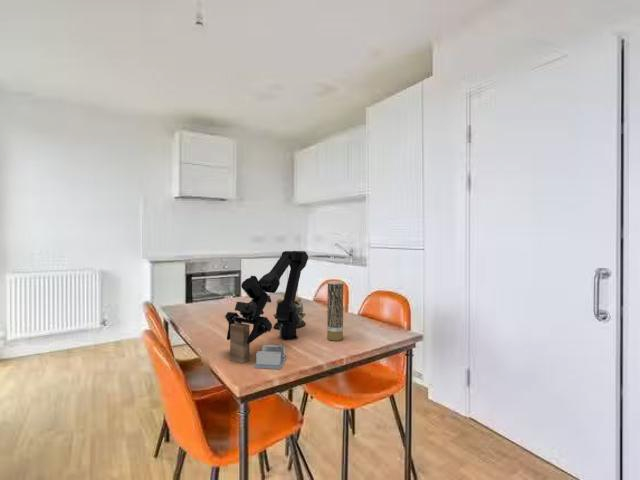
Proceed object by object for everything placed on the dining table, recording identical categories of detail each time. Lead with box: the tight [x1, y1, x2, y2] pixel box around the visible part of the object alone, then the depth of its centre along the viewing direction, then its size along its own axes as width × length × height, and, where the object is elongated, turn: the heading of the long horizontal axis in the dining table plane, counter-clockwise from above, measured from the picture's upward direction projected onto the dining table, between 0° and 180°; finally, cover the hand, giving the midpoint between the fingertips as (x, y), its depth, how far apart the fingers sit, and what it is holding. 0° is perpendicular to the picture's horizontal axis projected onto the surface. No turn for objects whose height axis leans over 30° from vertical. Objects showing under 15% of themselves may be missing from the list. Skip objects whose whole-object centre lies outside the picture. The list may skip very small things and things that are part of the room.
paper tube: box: [326, 280, 344, 342], centre depth 152 cm, size 7×7×25 cm
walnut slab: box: [229, 323, 251, 364], centre depth 126 cm, size 4×6×13 cm, turn 62°
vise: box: [254, 344, 287, 370], centre depth 126 cm, size 14×9×5 cm, turn 174°
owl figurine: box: [272, 292, 306, 331], centre depth 172 cm, size 18×12×17 cm, turn 131°
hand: (237, 341), depth 125 cm, fingers open, 9 cm apart
